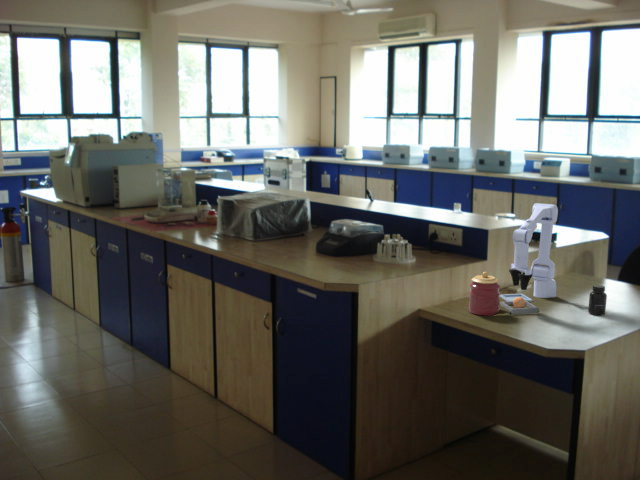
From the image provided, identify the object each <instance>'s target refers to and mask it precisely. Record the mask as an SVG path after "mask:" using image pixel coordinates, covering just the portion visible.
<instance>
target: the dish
mask: <svg viewBox="0 0 640 480" xmlns="http://www.w3.org/2000/svg"><path fill="white" fill-rule="evenodd" d="M516 297H522V298H523V299H524V300H525V301H527V302H529V303H530V302H531V303H532V302H533V301H534V300H533V299H532V298H530V297H528V296H527V295H525V294H524V293H508V294H507V293H505V294H500V298H501V299H503V300H505V302H508V301H513V300H514V299H515V298H516Z"/></svg>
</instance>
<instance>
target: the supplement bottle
mask: <svg viewBox="0 0 640 480" xmlns="http://www.w3.org/2000/svg"><path fill="white" fill-rule="evenodd" d="M605 291H606V287H605V286H604V285H601V284H600V285H599V284H594V285H592V291H591V292H589V295H588V296H589V297H588V298H589V299H588V306H587V308H588V309H587V312H588V314H590V315H593V316H605V314H606V309H607V298H608V296H607V293H606V292H605Z"/></svg>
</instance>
